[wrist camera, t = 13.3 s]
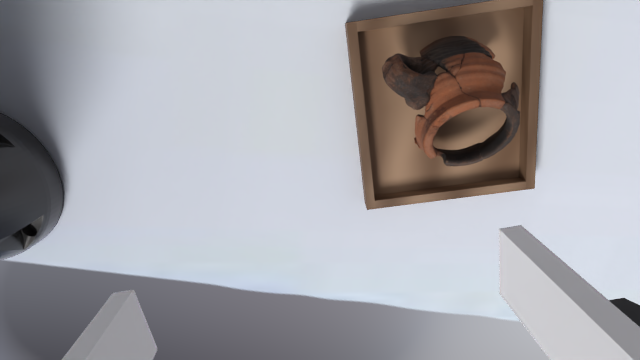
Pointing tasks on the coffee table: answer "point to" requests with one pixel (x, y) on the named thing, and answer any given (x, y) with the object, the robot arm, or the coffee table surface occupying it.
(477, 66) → the pottery mug
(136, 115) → the coffee table surface
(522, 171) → the walnut tray
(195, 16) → the coffee table surface
